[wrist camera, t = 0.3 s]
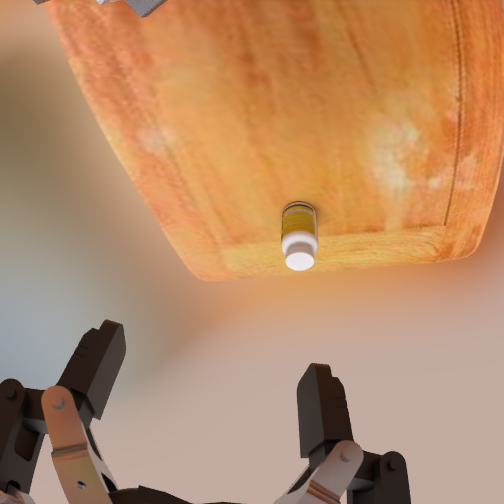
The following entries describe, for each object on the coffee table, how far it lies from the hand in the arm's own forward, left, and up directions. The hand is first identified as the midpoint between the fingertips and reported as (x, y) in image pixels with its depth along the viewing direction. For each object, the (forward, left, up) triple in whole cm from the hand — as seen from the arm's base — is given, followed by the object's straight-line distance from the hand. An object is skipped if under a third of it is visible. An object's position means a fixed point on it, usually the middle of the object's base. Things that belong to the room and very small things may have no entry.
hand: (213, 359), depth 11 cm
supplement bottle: (+19, -5, -31) cm, 37 cm away
